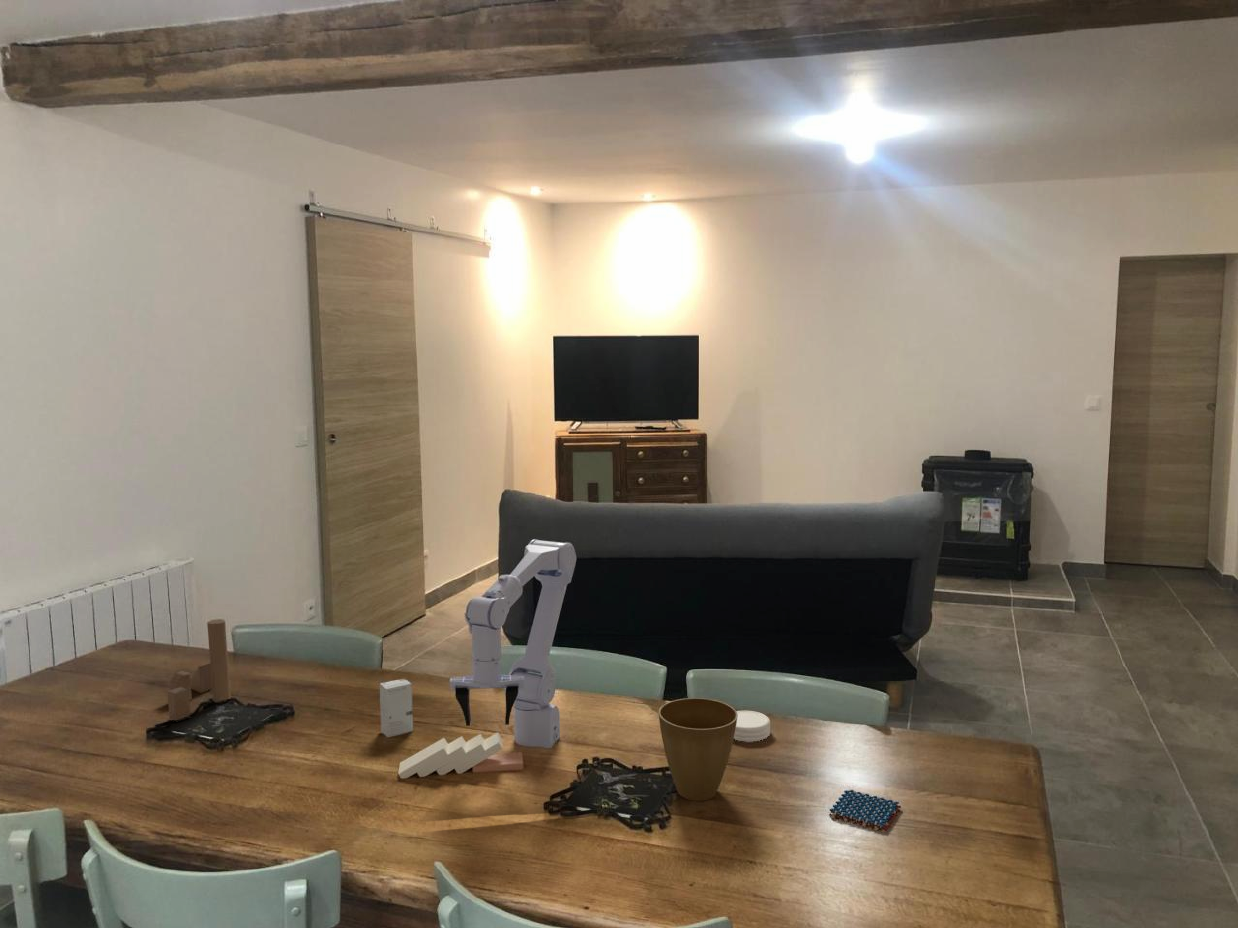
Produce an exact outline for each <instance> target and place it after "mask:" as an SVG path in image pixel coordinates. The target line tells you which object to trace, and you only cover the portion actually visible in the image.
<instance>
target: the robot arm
mask: <svg viewBox="0 0 1238 928" xmlns="http://www.w3.org/2000/svg"><path fill="white" fill-rule="evenodd" d="M576 562H577V554H576V550H575V548H574V546H573V544H572V543H571V542H558V541H550V540H549V541H548V540H542V539H541V540H540V539H538V538H537V539H536V538H535V539H532V540H530V541H529V543H528V545H527V544H526V546H525V548H524V555H523V557H522V559H521V560H520V561H519V563H518V564H517V565H516V567H515V568H514V569H513V570H512V571H511V573H510V574H500V576H499V577H498V578H497V580H496V581H494V583H493V584H492V585H491V586H489V588H488V589H487V590H486V591H485V592H484V593H483V594H482V595H480V596H479V595H478V596H475V597H473V598H471V599H470V600H469V602H468V603H467V605H466V609H465V613H464V619H465V622H466V623H467V625H468V633H469V634H470V635H471V658H472V659H471V662H472V663H471V665H472V666H471V667H472V672H471V673H472V675H468V676H462V677H461V676H459V677H450V678H449V691H452V692H453V691H455V692H454V693H455V694H454V696H455V698H456V701H457V703H458V704H459V706H460V709H461V710H462V714H463V715H464V721H465V724H466V725H465V726H467V727H470V726H471V719H472V718H471V707H470V695H471V694H470V690H474V689H475V690H477V689H478V690H479V689H480V690H489V689H504V694H505V695H504V696H505V718H504V719H505V720H504V725H506V726H507V725H509V724H510V717H511V712H512V710H513V730H514V731H513V733H514V735H513V736H514V738H513V739H514V742H515V743H516V745H520V746H523V747H530V748H531V747H533V748H534V747H535V748H536V747H537V748H546V749H552V747H554V745H555V744H556V742H558V740H559V739H560V738H561V729H560V728H561V725H560V710H559V707H558V705H554V704H551V702H552V701H553V699H554V697H555V693H556V680H557V679H556V678H557V672H556V670H555V669H554V667H553V666H552V665H551V663H550V662H549V660H550V659H549V658H550V653H551V651H552V647H553V642H554V638H555V634H556V631H557V625H558V622H559V618H560V613H561V609H562V605H563V602H564V599H565V598H564V597H565V594H566V591H567V586H568V584H570V583H572V578H573V575H574V572H575V567H576ZM533 578H535V579H536V580H538V581H539V582H540V583H541V590H540V594H539V599H538V601H537V606H536V609H535V613H534V618H533V623H532V625H531V629H530V631H529V636H528V641H527V645H526V648H525V653H524V655H523V656H522V657H521V658H519V659H517V660H515V661H514V662H513V663H512V665H511V668H510V671H509V672H508V674H502V629H501V628H502V626H504V624H505V622H506V620H507V617H508V616H507V615H508V614H509V612H510V608H512V606H513V605H514V604H515V603H516V602H517V600H518V599H520V597H521V596H522V595H523V591H524V590H523V587H524V585H526V584H527V583H528V582H529V581H531V579H533Z"/></svg>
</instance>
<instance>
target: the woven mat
mask: <svg viewBox="0 0 1238 928" xmlns="http://www.w3.org/2000/svg"><path fill="white" fill-rule="evenodd" d="M840 796H841V797H838V800H837V801H835V804H833V805H832V808H829V812H830V813H829V815H828V816H829V817H830V819H833V820H835V819H838V821H843V822H844V823H848V822H849V823H850V824H852V825H853V824H855V823H856V824H855V826H856V827H860V826H861V827H863V828H868V829H873V828H874V831H879V829H881V831H880V832H882V833H885V832H886V831H887V830H888V828H890V827H891V824H892V823H893V822H894V821H893V820H894V819H895V817H896V816H898V812H900V810H901V808H902V806H901V805H898V804H900V802H899V801H895V800H893V799H888V798H884V797H880V796H877V795H873V796H872V795H871V794H869V793H864V792H860V791H856V790H853V789H849V790H843V793H842V794H841V795H840ZM896 812H897V813H896ZM885 830H886V831H885Z"/></svg>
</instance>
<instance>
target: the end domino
mask: <svg viewBox="0 0 1238 928" xmlns="http://www.w3.org/2000/svg"><path fill="white" fill-rule="evenodd" d="M521 770H524V758H523V752H522V751H519V752H518V751H517V752H516V751H515V752H506V753H505V752H504V753H495V754H493V755H492V756H490V757H488V758H487V759H485V760H483V761H482V762H480V763H478V764H476V765H475V766H473V767H472V773H473V774H474V773H475V774H476V773H485V772H496V771H497V772H502V771H521Z"/></svg>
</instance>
